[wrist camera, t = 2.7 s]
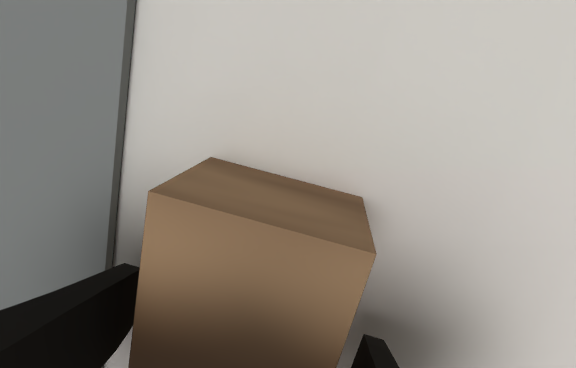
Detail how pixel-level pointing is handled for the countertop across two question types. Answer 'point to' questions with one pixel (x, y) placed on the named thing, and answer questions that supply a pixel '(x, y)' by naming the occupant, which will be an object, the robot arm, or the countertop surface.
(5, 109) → the mat
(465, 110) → the countertop surface
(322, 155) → the countertop surface
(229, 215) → the card box
